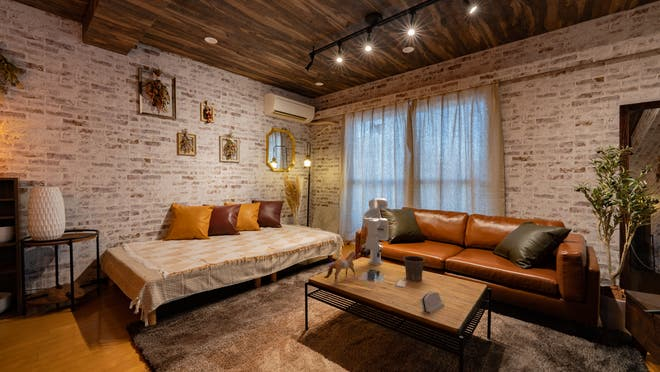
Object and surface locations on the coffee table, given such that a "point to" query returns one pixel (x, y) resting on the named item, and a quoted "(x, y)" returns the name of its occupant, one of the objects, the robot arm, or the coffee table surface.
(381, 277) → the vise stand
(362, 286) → the coffee table surface
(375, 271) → the collar
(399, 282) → the pad
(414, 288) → the coffee table surface
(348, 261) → the horse figurine
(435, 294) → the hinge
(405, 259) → the plant pot
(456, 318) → the coffee table surface
